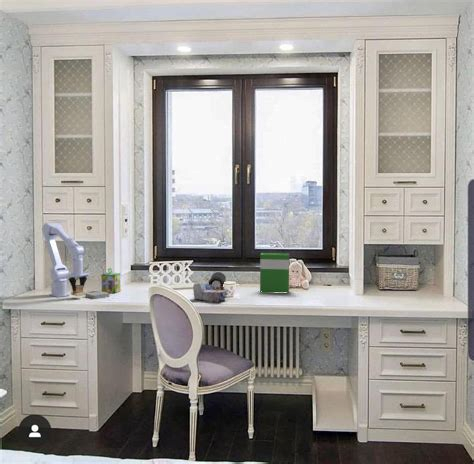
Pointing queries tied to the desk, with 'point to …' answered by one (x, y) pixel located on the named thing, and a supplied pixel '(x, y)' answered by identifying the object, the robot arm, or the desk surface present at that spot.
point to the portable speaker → (217, 280)
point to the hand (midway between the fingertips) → (77, 289)
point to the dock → (97, 295)
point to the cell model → (209, 292)
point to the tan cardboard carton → (78, 291)
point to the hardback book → (274, 272)
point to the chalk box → (110, 282)
